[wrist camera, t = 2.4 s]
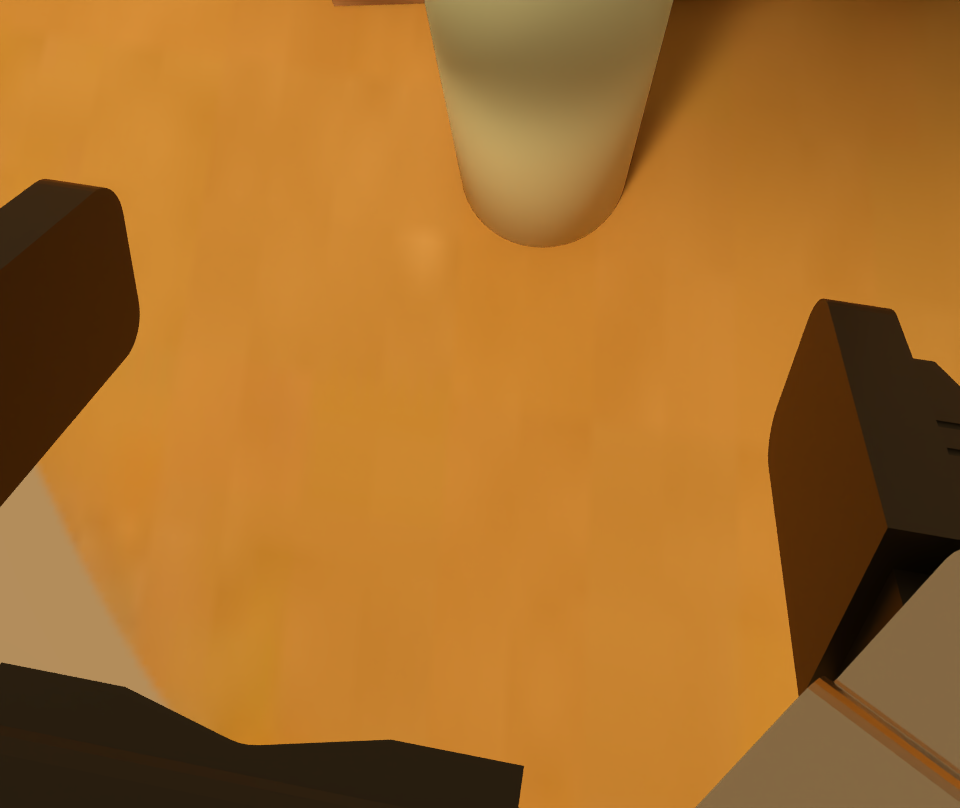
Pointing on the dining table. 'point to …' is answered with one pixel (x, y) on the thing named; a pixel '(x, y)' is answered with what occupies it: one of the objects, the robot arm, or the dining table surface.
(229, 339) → the dining table surface
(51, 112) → the dining table surface
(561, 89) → the salt mill
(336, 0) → the cruet stand
